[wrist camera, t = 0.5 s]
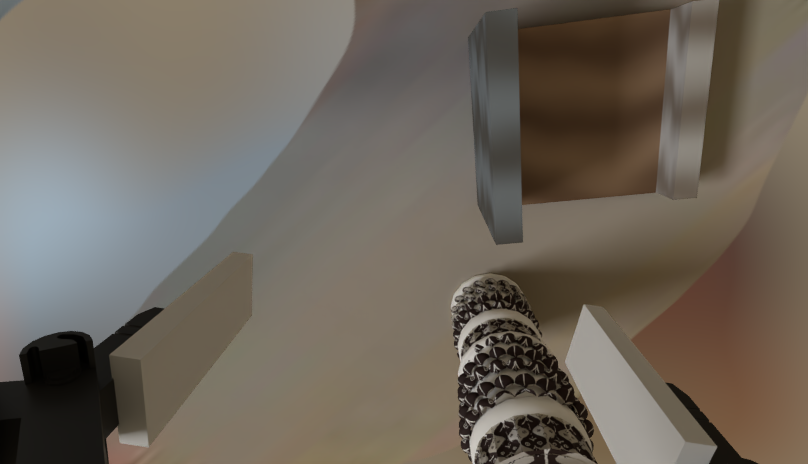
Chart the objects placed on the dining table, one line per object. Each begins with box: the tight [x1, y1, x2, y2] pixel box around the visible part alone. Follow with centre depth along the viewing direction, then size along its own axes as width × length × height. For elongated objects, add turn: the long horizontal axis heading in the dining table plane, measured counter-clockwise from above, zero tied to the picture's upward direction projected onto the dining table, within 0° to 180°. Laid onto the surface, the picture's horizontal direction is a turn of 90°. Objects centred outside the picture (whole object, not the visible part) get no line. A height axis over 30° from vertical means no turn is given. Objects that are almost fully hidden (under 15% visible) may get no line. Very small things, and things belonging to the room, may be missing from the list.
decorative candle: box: [451, 273, 597, 464], centre depth 34 cm, size 9×9×25 cm
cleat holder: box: [468, 0, 719, 245], centre depth 34 cm, size 16×19×12 cm
